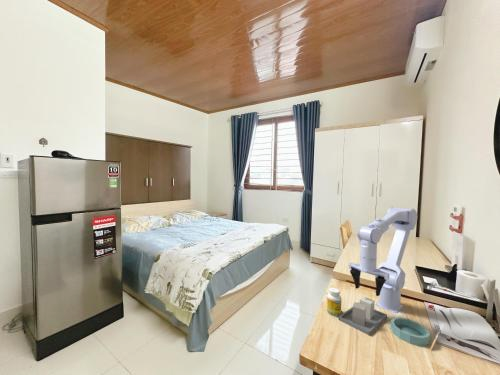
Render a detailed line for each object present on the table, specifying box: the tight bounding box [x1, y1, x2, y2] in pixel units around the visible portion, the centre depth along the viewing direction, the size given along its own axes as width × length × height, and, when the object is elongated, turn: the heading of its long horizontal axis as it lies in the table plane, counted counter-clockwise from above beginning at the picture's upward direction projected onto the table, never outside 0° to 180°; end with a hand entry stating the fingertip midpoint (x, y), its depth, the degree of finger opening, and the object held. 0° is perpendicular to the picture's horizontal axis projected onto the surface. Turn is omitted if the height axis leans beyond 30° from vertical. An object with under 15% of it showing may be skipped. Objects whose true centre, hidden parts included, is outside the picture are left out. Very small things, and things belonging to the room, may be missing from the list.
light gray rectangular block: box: [352, 301, 366, 326], centre depth 81 cm, size 4×4×6 cm
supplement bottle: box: [326, 287, 342, 318], centre depth 86 cm, size 5×5×10 cm
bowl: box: [390, 317, 431, 347], centre depth 74 cm, size 11×11×3 cm
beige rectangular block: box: [359, 296, 376, 319], centre depth 85 cm, size 4×4×6 cm
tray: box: [338, 302, 388, 336], centre depth 83 cm, size 17×11×2 cm, turn 130°
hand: (367, 291), depth 85 cm, fingers open, 7 cm apart
